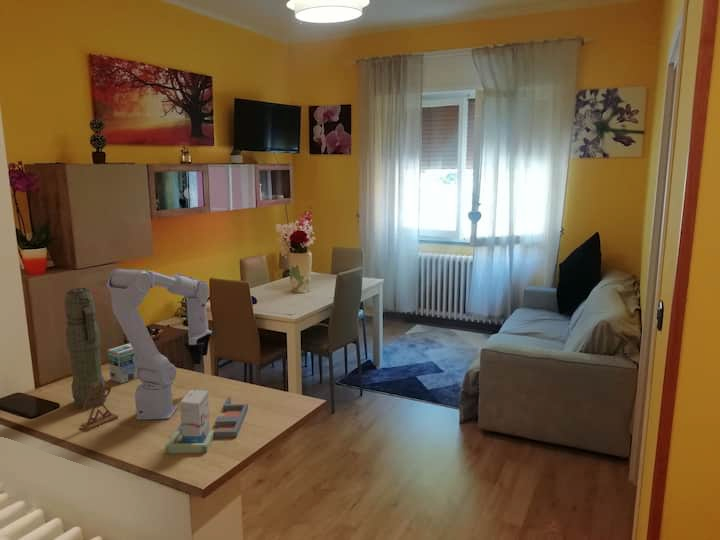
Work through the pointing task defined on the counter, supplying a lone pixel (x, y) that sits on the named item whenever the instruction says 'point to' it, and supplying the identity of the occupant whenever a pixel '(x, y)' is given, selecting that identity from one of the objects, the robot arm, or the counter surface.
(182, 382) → the counter surface
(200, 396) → the ink box
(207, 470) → the counter surface
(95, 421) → the wooden stand
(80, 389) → the grey stone statue
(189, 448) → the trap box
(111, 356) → the light bulb box
